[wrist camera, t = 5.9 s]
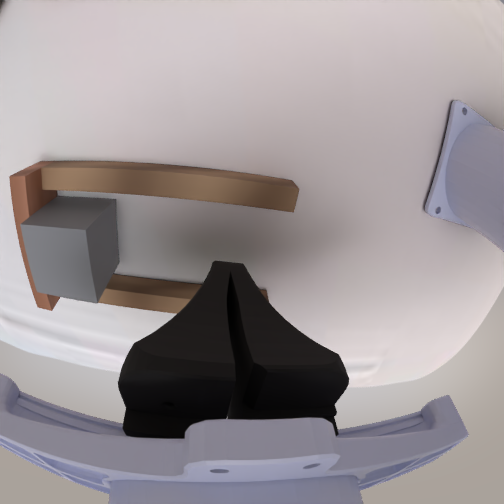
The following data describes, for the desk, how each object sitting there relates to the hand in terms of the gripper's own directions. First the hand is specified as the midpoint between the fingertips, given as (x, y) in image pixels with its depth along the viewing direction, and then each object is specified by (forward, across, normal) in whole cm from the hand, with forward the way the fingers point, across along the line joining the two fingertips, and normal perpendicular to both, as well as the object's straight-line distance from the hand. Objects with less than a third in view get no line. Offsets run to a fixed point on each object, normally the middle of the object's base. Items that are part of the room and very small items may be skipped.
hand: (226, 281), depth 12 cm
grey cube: (+4, +8, 0) cm, 9 cm away
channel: (+3, +4, 0) cm, 5 cm away
